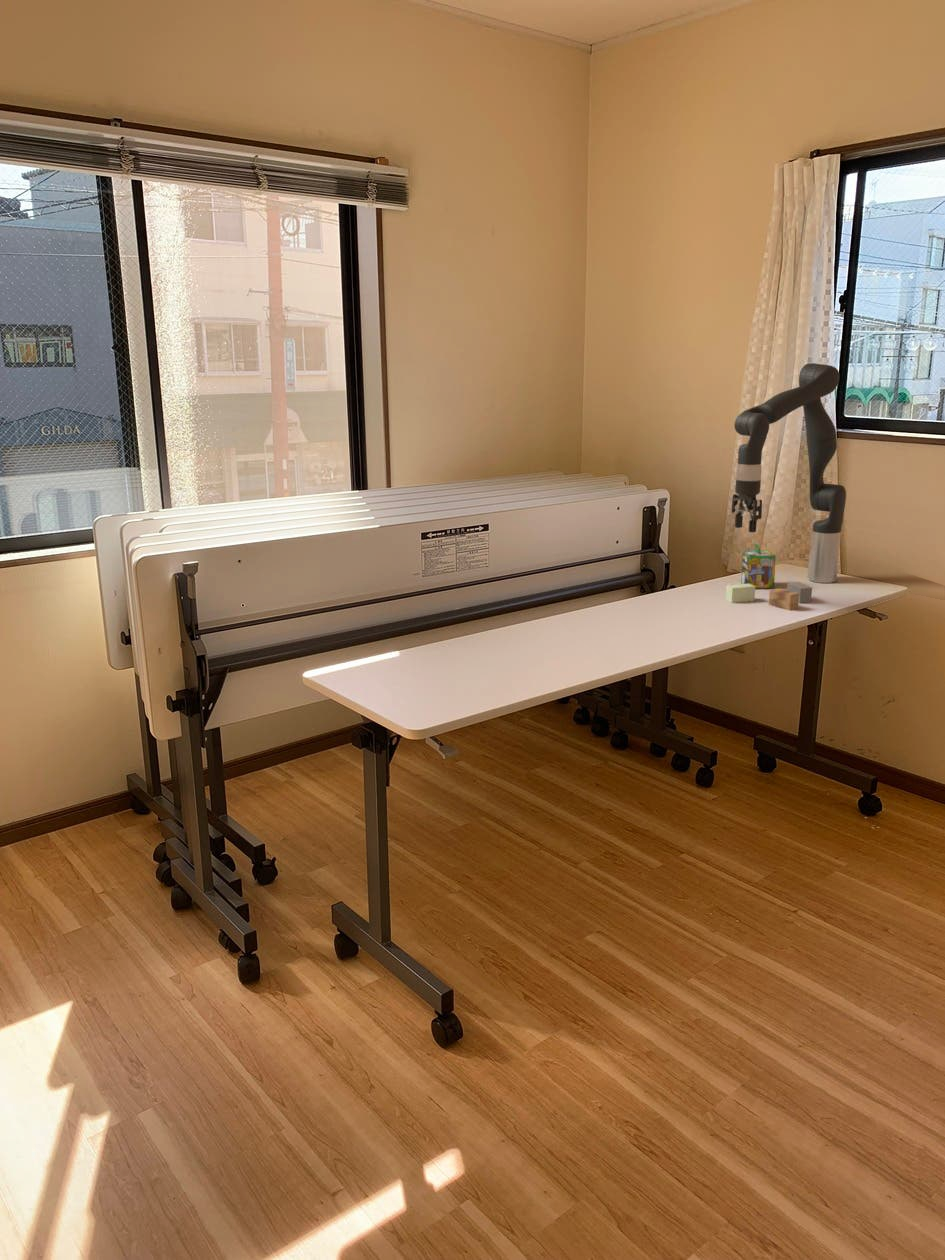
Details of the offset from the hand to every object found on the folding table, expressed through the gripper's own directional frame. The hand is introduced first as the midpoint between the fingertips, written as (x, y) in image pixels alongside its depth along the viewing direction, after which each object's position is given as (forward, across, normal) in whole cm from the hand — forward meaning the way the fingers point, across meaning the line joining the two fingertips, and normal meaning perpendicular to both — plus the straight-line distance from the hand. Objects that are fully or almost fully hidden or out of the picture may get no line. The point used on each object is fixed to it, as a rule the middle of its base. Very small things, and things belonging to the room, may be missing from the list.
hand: (745, 529), depth 309 cm
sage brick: (+23, 0, 0) cm, 23 cm away
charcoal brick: (+23, -5, -18) cm, 30 cm away
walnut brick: (+23, -11, -9) cm, 27 cm away
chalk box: (+23, +16, -15) cm, 32 cm away
